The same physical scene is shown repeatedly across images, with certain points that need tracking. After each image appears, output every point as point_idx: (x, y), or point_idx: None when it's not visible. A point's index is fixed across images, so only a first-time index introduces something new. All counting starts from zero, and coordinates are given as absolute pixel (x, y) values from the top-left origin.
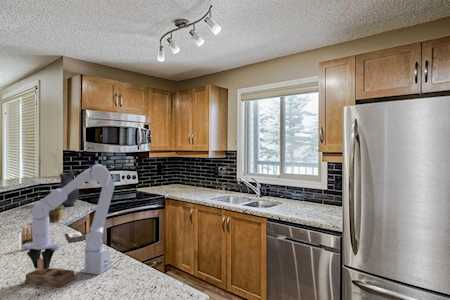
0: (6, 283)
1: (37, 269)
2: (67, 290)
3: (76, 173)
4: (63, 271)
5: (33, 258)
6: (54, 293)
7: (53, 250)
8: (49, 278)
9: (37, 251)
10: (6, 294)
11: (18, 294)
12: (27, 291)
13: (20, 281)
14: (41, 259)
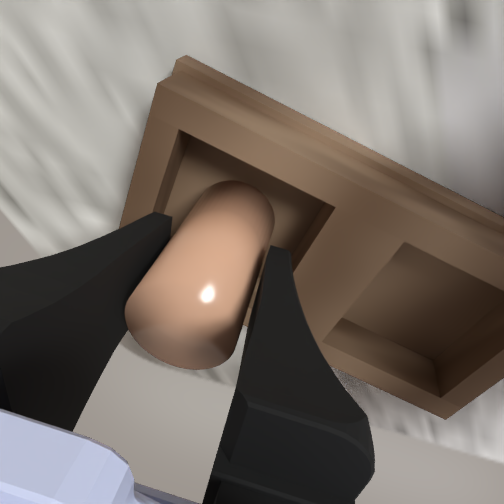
0: (7, 204)
1: (147, 166)
2: (500, 417)
3: None
4: (463, 266)
5: (90, 383)
6: (416, 422)
7: (349, 491)
8: (355, 372)
9: (42, 403)
10: (131, 350)
11: (200, 370)
12: (234, 354)
13: (86, 195)
14: (181, 339)
